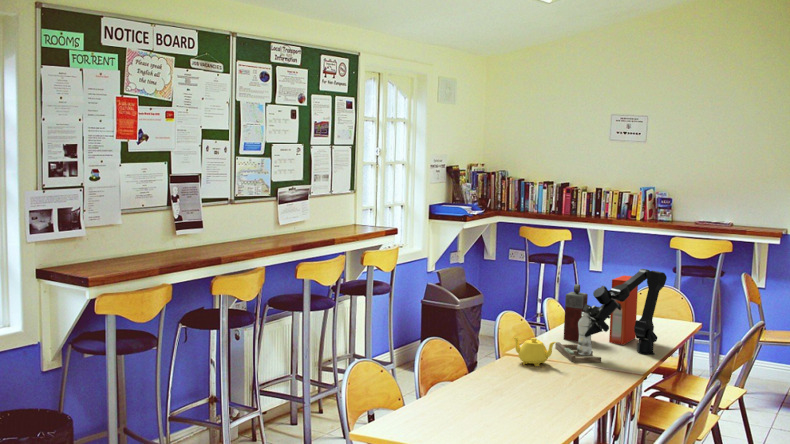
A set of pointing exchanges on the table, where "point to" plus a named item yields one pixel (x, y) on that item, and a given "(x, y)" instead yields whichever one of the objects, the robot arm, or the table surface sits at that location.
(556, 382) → the table surface
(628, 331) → the file binder
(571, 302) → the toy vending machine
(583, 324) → the plastic bottle
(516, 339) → the teapot
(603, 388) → the table surface
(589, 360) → the comb rack
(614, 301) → the robot arm
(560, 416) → the table surface
